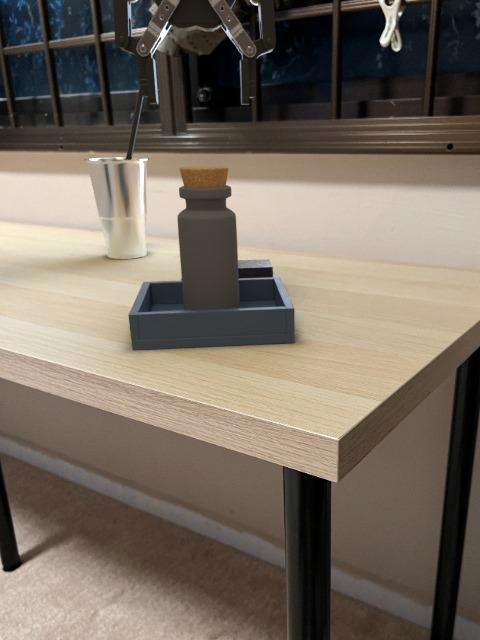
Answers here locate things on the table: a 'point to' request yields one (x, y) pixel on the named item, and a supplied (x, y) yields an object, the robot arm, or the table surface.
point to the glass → (122, 198)
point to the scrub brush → (255, 269)
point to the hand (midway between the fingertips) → (200, 104)
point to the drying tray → (211, 317)
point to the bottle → (208, 240)
